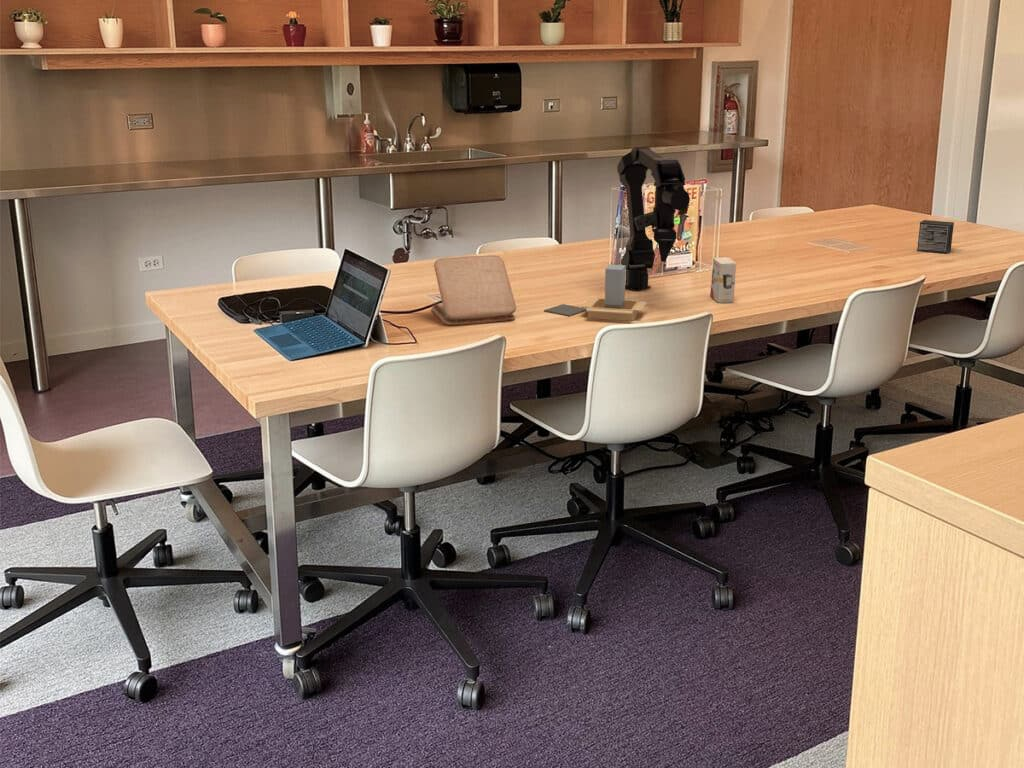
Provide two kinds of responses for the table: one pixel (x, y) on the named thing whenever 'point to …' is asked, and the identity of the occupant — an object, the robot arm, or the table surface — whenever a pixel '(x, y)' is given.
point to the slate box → (615, 286)
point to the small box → (935, 236)
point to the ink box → (723, 280)
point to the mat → (566, 310)
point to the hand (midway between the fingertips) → (662, 258)
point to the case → (473, 290)
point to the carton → (599, 311)
